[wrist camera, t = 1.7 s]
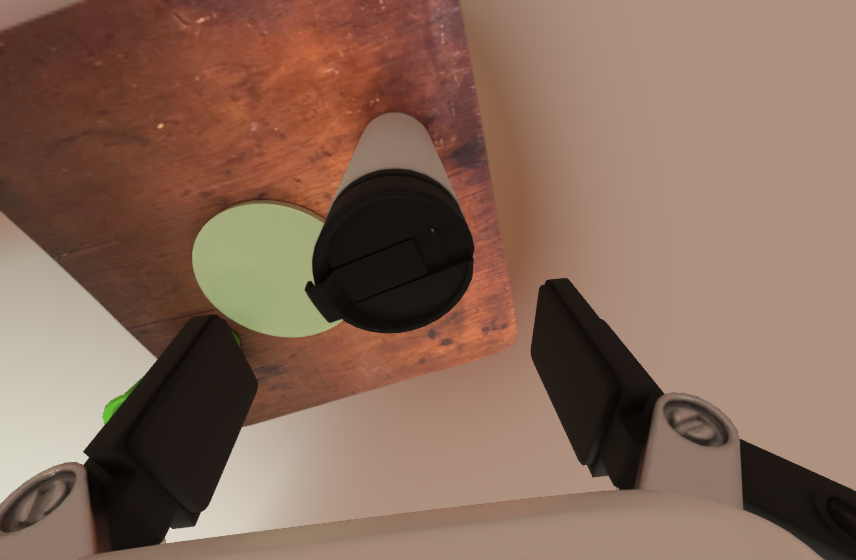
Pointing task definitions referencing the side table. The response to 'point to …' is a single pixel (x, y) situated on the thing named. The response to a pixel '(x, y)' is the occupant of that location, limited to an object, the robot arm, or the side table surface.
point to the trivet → (261, 266)
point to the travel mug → (392, 235)
